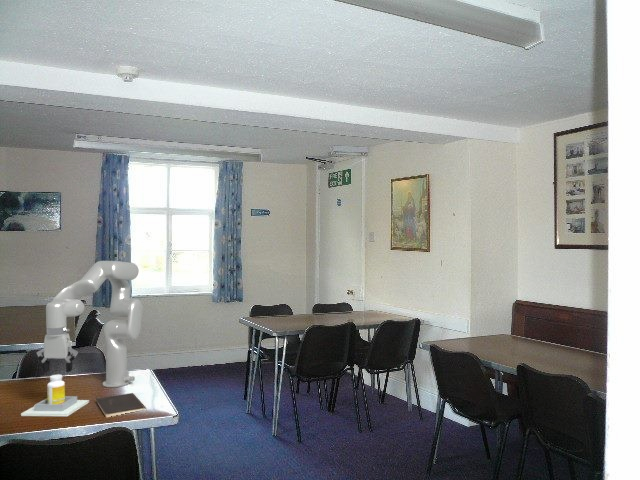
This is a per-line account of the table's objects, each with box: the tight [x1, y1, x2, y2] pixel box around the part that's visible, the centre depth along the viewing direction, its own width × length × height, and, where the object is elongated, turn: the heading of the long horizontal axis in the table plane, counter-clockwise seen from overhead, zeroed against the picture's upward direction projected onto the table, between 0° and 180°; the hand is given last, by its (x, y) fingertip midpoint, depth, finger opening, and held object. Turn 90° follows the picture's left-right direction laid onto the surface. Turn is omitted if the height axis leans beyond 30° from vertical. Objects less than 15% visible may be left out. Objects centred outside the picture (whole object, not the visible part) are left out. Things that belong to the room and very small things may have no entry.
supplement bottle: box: [46, 374, 66, 404], centre depth 216 cm, size 7×7×13 cm
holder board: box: [20, 395, 90, 417], centre depth 215 cm, size 19×18×4 cm
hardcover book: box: [95, 392, 147, 418], centre depth 218 cm, size 16×23×2 cm
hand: (57, 371), depth 216 cm, fingers open, 9 cm apart
